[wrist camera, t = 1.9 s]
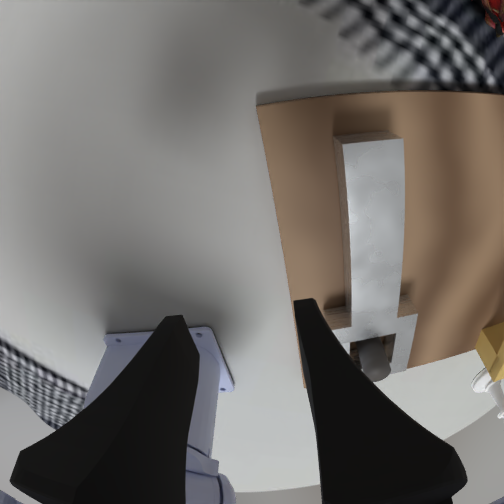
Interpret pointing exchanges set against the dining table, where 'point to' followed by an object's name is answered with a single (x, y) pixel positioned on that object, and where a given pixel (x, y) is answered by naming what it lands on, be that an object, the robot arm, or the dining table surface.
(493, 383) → the chess piece
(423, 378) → the dining table surface
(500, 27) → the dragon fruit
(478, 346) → the block
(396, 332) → the link
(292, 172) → the board
